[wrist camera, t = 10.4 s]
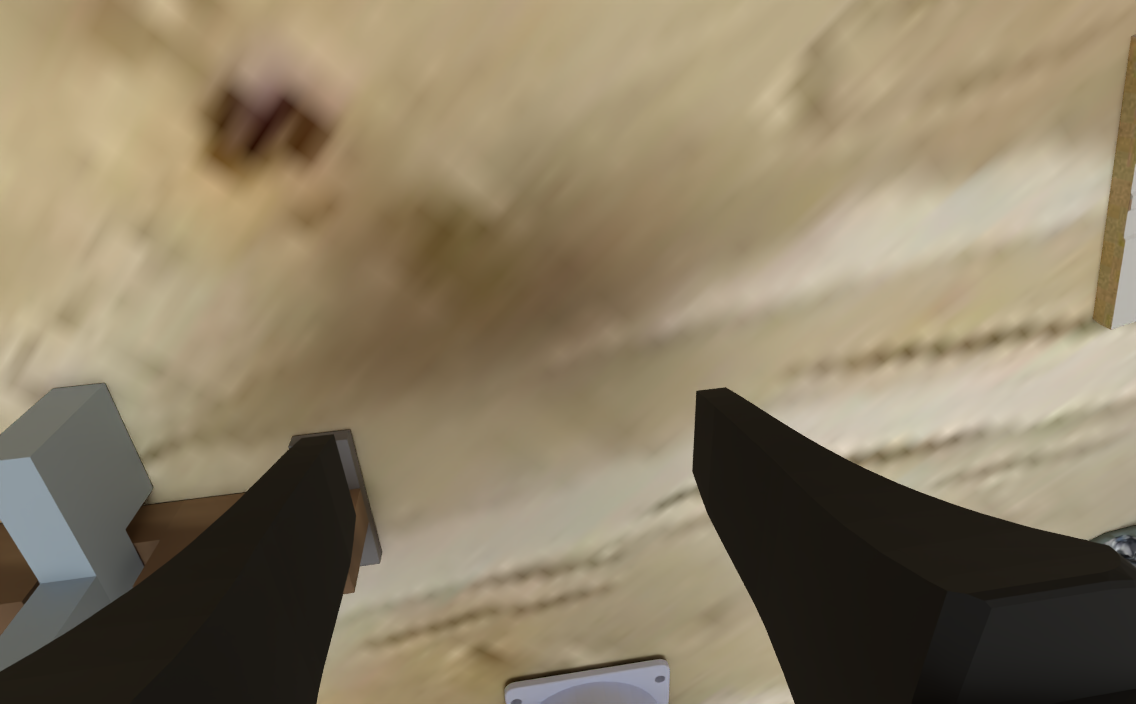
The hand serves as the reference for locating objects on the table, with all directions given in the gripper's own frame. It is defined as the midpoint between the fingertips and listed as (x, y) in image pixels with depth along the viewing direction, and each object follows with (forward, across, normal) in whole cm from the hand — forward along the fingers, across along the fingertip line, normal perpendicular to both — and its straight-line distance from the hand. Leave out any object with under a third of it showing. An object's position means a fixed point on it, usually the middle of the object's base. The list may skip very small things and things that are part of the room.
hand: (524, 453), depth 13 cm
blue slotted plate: (+9, +14, +8) cm, 19 cm away
